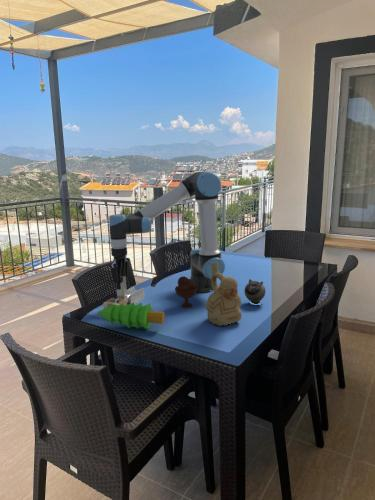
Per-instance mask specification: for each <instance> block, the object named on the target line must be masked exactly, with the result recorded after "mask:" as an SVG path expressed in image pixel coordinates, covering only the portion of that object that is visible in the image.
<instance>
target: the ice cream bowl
mask: <svg viewBox="0 0 375 500" xmlns="http://www.w3.org/2000/svg"><path fill="white" fill-rule="evenodd" d="M174 289H175V290H174V291H175V294H177V296H179V297H180V298H182V299H183V300H184V302H183V303H182V304H181V305H180V307H181V308H184V309H189V308H192V307H193V304H192V303H190V302H189V299H191V298H192V297H194V296H195V295H196V293H197V292H196V291H197V286H195V283H194V281H193V280H191V279H190V278H188V277H187V276H185V275H184V276H180V277H179V278H178V279H177V286H175V288H174Z"/></svg>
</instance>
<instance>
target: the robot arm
mask: <svg viewBox="0 0 375 500" xmlns="http://www.w3.org/2000/svg"><path fill="white" fill-rule="evenodd" d="M221 189H222V182H221V178H220V176H218V175H217V174H216V173H214V172H213V171H209V170H208V171H195V172H194V173H192V174H190V175H189V176H188V177H186V178H185V179H183V180H182V181H180V182H179V183H178V185H177V186H176V187H174V188H173V189H171V190H169V191H168V192H166V193H164V194H163V195H161V196H159V197H158V198H156V199H155V200H154V201H151V202H150V203H148V204H146V205H145V206H144V207H141V208H140V209H139V210H137V211H135V212H133V213H130V214H128V215H127V216H126V215H125V214H117V213H116V214H111V215H110V216H109V217H108V221H109V224H108V227H109V239H110V247H111V248H110V253H111V256H112V257H113V259H112V260H113V262H112V263H110V265H109V266H110V268H111V269H110V270H111V275H112V282H113V283H115V285H117V287H116V296H117V295H119V296H123V288H122V282H121V276H126V281H128V280H129V279H128V278H129V260H130V258H129V257H126V256H127V255H128V247H127V246H128V243H127V240H128V239H127V235H137V234H147V233H150V232H151V231H152V221H151V220H154V219H156V218H157V217H158V216H160V215H161V214H163V213H165V212H166V211H168V210H169V209H171V208H173V207H174V206H175V205H177V204H179V203H180V202H182V201H184V200H185V199H190V198H192V197H194V200H195V201H196V202H197V203H198V216H199V217H198V220H199V232H200V234H199V235H200V248H199V247H198V248H192V249H191V250H190V255H189V257H190V277H189V279H191V280H193V281H194V283H195V286H197V291H196V293H208V292H207V291H210V290H213V288H212V284H211V276H212V274H213V272H212V266H211V263H218V271H219V273H221V274H223V275H224V272H225V270H226V264H225V262H224V260H223V259H222V251H221V250H220V249H219V245H218V229H217V228H218V224H217V223H218V222H217V210H216V208H217V206H216V204H217V203H216V202H217V201H218V200H219V193H220V191H221ZM213 291H214V290H213ZM210 292H211V291H210Z"/></svg>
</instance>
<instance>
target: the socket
mask: <svg viewBox="0 0 375 500" xmlns="http://www.w3.org/2000/svg"><path fill="white" fill-rule="evenodd" d="M114 304H116V306H119V305H121V304H124V306H126V305H127V300H124V299H123V300H122V301H120V302H118V303H116V298H114V297H111V298H109V299H108V300H105V301H104V302H103V303H102V306H103V307H102V310H103V309H105V308H107V307H109V306H112V305H114Z"/></svg>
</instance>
